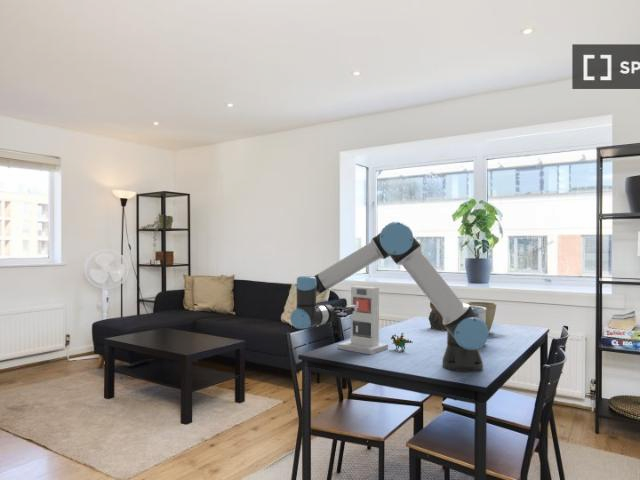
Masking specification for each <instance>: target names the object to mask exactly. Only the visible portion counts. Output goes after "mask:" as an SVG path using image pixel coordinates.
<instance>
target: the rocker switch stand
mask: <svg viewBox="0 0 640 480" xmlns="http://www.w3.org/2000/svg"><path fill="white" fill-rule="evenodd" d="M355 299H364V300H369V312H366V311H360V310H357V312H353V314H351V315H350V340H347V341H344V342H339V343H337V349H340V350H345V351H349V352H355V353H361V354H366V355H374V354H376V353H380V352H383V351H386V350H388V349H389V344H385V343H381V342H380V340H379V339H380V335H379V334H380V333H379V331H380V330H379V329H380V327H379V325H380V323H379V322H380V318H379V317H380V287H378V286H377V287H376V286H363V285H362V286H361V285H353V286H350V306H351V305H355ZM353 323H363V324H371V335H370V336H367V335H357V334H353Z"/></svg>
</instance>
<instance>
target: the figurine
mask: <svg viewBox="0 0 640 480" xmlns="http://www.w3.org/2000/svg"><path fill="white" fill-rule="evenodd" d="M390 340H392V342H391V344H392V345H393V344H394V345H395V349H394V350H395V351H396V350H398V349H399V348H401V349H400V350H399V352H403V351H404V352H405V349H406V344H413V343H414V342H413V341H412V340H409V339H408V338H404V332H401V333H400V336H399V335H397V334H396V333H395V334H391V338H390Z"/></svg>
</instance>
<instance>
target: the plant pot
mask: <svg viewBox="0 0 640 480" xmlns="http://www.w3.org/2000/svg"><path fill="white" fill-rule="evenodd" d="M467 304H468V305H473V306H481V307H485V308H486V322H485V324H486V325H487V328H488V331H489V332H490V331H491V328H492V326H493V323H494V320H495V314H496V309H497V303H494V302H485V301H468V302H467Z"/></svg>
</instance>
